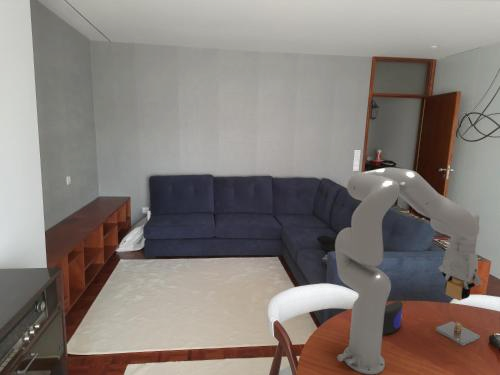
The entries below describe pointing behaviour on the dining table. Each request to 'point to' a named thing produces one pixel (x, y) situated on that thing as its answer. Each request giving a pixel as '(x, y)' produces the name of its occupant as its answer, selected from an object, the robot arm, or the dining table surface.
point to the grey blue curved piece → (392, 317)
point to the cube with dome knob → (455, 288)
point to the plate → (457, 333)
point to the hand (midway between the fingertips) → (456, 293)
